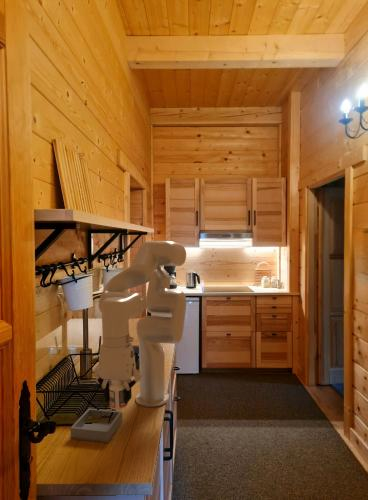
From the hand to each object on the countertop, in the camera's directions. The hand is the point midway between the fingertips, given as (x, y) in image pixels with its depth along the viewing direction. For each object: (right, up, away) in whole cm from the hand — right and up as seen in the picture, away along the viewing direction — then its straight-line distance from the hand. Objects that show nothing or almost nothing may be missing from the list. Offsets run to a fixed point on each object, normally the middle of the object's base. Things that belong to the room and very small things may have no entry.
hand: (117, 399), depth 101 cm
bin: (-8, -13, +9) cm, 18 cm away
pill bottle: (0, -2, +1) cm, 2 cm away
